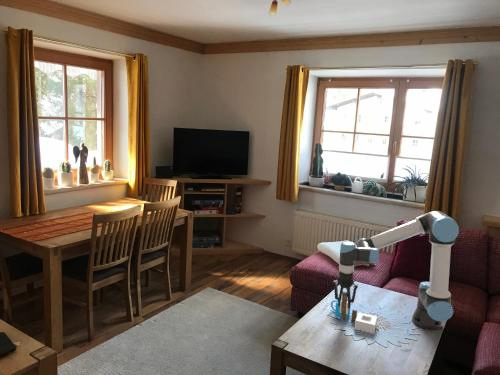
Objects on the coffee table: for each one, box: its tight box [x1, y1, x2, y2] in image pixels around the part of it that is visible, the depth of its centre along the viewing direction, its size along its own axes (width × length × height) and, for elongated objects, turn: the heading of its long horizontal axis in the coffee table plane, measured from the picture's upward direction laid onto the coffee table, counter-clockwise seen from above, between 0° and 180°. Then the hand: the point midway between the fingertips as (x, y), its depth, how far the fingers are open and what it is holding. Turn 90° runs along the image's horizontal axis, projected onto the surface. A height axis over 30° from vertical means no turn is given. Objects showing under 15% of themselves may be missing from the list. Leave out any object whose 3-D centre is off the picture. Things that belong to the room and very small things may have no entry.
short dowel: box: [350, 309, 358, 323], centre depth 221 cm, size 3×3×6 cm
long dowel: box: [340, 291, 348, 321], centre depth 214 cm, size 3×3×15 cm
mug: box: [330, 298, 351, 320], centre depth 227 cm, size 12×8×8 cm
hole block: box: [354, 311, 378, 334], centre depth 214 cm, size 10×10×5 cm
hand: (343, 312), depth 215 cm, fingers closed on long dowel, 2 cm apart
